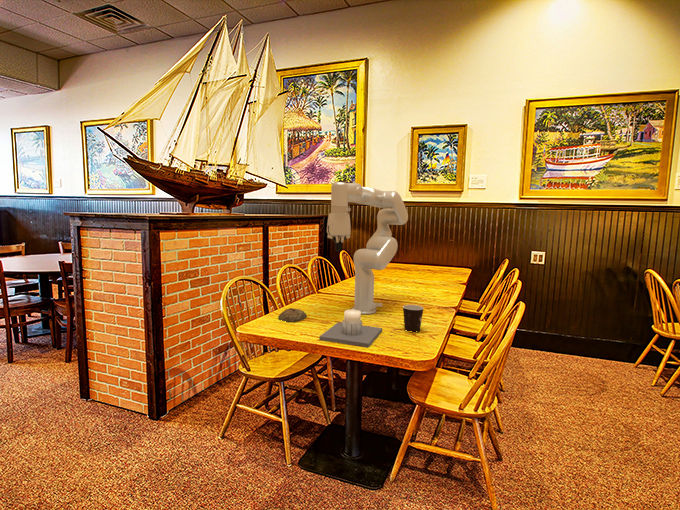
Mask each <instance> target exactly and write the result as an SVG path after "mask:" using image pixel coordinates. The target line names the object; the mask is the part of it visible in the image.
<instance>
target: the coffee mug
mask: <svg viewBox="0 0 680 510" xmlns="http://www.w3.org/2000/svg"><path fill="white" fill-rule="evenodd" d="M402 308H403V309H402V310H403V311H402V312H403V324H404V331H405V330H407V331H412V332H411V333H413V332H415V333H417V332H416V331H419V330H420V331H421V326H422V319H423V313H424V307H423V306H421V305H418V304H405V305H402ZM407 331H406V332H407ZM420 331H419V332H420Z"/></svg>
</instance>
